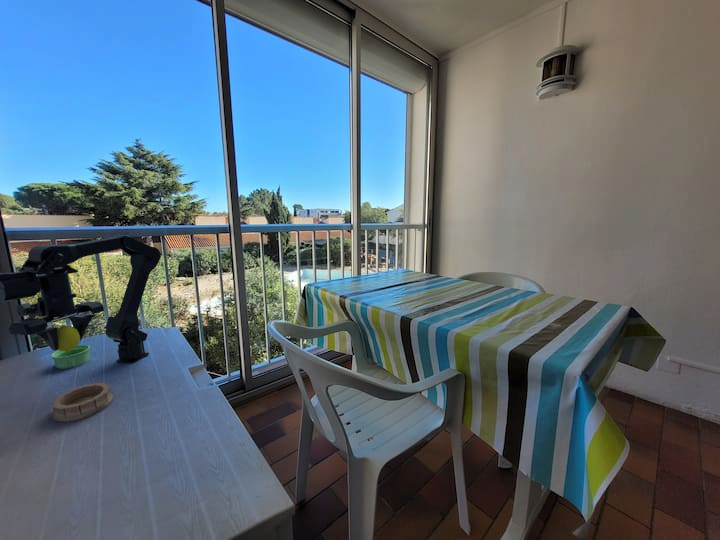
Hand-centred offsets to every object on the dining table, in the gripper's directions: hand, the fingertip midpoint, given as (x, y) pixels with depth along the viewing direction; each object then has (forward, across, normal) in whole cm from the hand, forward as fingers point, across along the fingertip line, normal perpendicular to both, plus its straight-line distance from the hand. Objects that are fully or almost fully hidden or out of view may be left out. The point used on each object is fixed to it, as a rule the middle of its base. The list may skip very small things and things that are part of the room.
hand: (67, 345), depth 80 cm
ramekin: (+12, -10, -14) cm, 21 cm away
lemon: (+2, 0, 0) cm, 2 cm away
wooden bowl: (+12, +8, +13) cm, 20 cm away
